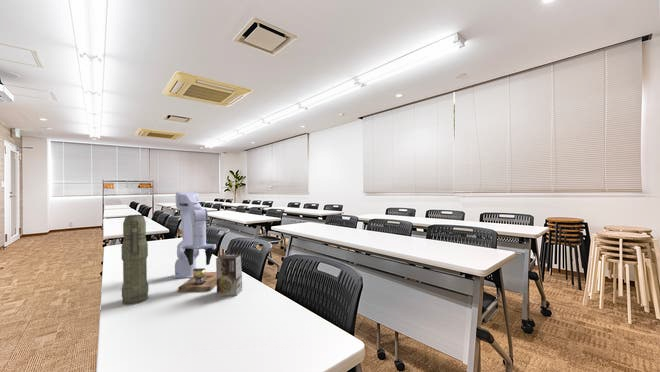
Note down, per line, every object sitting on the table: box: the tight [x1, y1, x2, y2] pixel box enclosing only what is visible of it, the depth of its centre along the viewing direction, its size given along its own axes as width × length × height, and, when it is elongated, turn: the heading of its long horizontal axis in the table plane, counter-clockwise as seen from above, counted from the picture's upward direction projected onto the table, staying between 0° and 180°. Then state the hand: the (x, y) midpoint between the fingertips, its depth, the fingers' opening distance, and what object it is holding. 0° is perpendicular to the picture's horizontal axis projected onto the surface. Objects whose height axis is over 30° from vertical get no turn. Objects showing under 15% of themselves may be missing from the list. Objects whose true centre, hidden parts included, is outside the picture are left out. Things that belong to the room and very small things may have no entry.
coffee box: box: [215, 254, 243, 297], centre depth 119 cm, size 9×6×16 cm
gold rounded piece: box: [193, 267, 206, 285], centre depth 126 cm, size 5×5×9 cm
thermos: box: [120, 214, 149, 306], centre depth 112 cm, size 9×12×35 cm
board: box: [177, 271, 217, 293], centre depth 132 cm, size 14×21×2 cm, turn 1°
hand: (199, 264), depth 127 cm, fingers open, 7 cm apart
